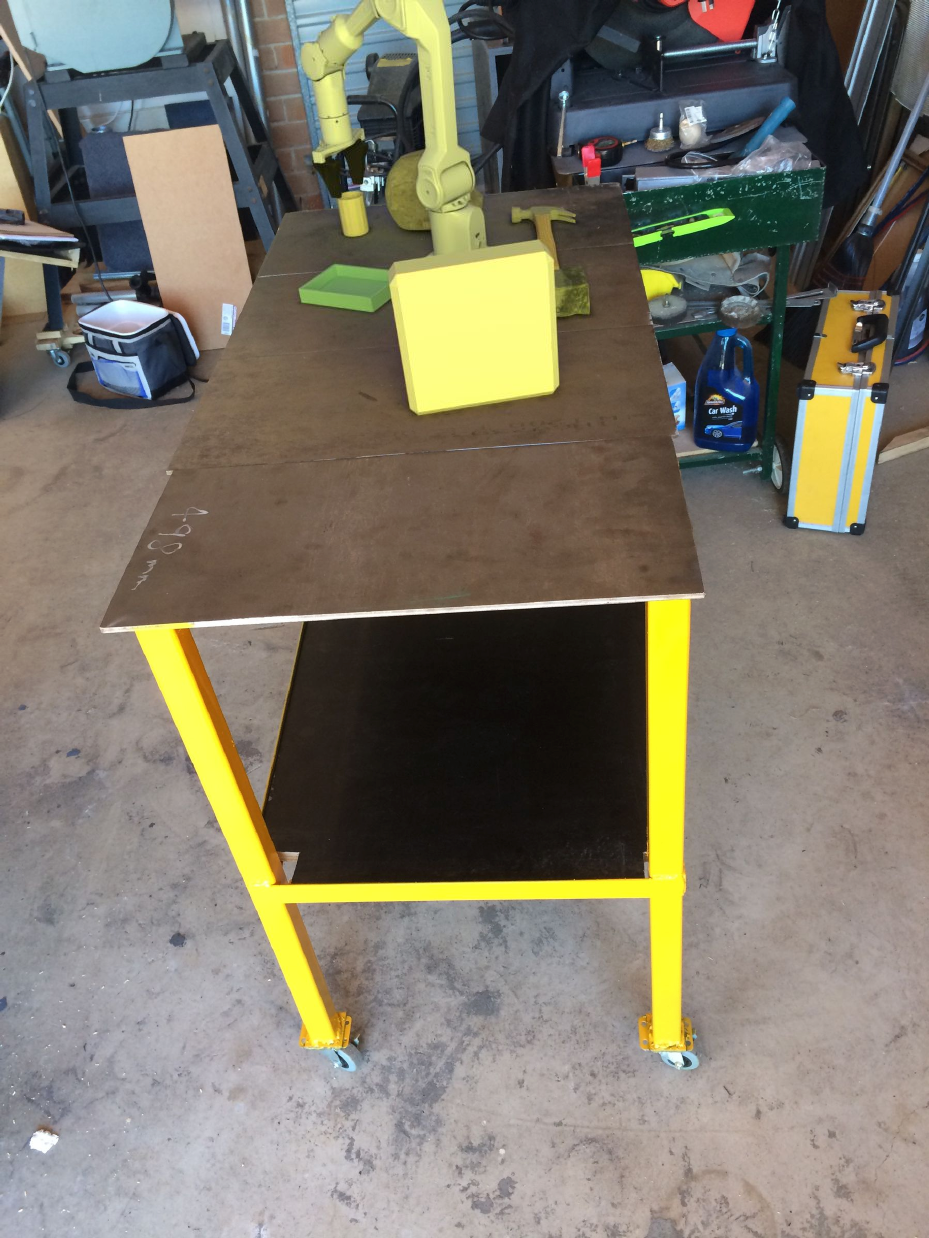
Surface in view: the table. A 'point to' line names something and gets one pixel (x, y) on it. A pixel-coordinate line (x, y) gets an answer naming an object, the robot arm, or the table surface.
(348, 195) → the cup
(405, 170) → the stone
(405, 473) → the table surface
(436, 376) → the yellow beveled square tile
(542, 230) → the hammer
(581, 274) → the stone block
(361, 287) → the tray
